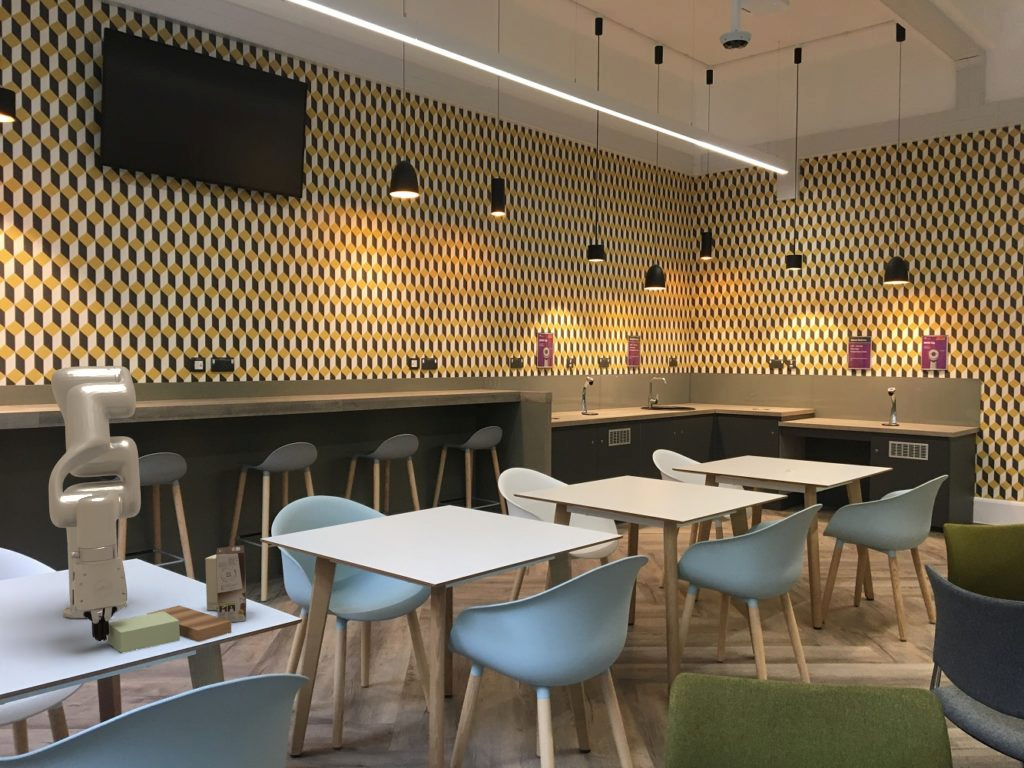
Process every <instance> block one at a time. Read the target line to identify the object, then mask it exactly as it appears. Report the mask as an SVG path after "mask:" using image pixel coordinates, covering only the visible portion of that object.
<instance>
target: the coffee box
mask: <svg viewBox="0 0 1024 768" xmlns="http://www.w3.org/2000/svg"><path fill="white" fill-rule="evenodd" d="M215 555H216V570H217V601H218V610H217V617H219V618H222V619H226V620H229V621H231V623H239V622H240V623H241V622H246V620H247V582H246V581H247V579H246V577H247V576H246V575H247V574H246V553H245V545H235V546H234V545H231V546H225V547H217V548H216V554H215Z"/></svg>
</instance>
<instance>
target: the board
mask: <svg viewBox="0 0 1024 768" xmlns="http://www.w3.org/2000/svg"><path fill="white" fill-rule="evenodd" d="M162 611H164V612H166V613H167V614H169V615H171V616H172V617H174V618H176V619H177V620H179V631H180V637H183V638H185V639H189V640H192V641H194V642H198V643H200V642H203V641H207V640H210V639H213V638H217V637H220V636H225V635H227V633H228V634H231V633H232V622H231V621H229V620H226V619H222V618H219V617H218V616H215V615H212V614H208V613H205V612H203V611H198V610H196V609H193V608H189V607H185V606H183V605H175V606H171V607H168V608H164V609H159V610H156V611H153V612H148V613H146V615H147V614H152V613H157V612H162Z"/></svg>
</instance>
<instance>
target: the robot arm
mask: <svg viewBox="0 0 1024 768" xmlns="http://www.w3.org/2000/svg"><path fill="white" fill-rule="evenodd" d="M132 378H133V377H132V374H131V372H130V370H129V369H128V368H127V367H125V366H121V365H106V366H105V365H103V366H101V365H99V366H97V365H93V366H90V365H89V366H88V365H86V366H83V365H81V366H69V367H62V368H60V369H57V370H55V371H54V372H53V373H52V375H51V378H50V381H51V385H50V386H51V389H52V390H51V391H52V394H53V397H54V399H55V400H54V401H55V402H56V404H57V407H58V408H59V411H60V413H61V416H62V418H63V420H64V427H65V428H64V429H65V449H66V451H65V453H64V454H63V455H62V456H61V458H60V459H59V460H58V461H57V463H55V465H54V467H53V469H52V471H51V473H50V476H49V482H48V507H49V511H48V512H49V517H50V520H51V523H52V524H53V525H54V526H55V527H57V528H62V529H65V530H66V541H67V562H68V563H67V564H68V566H67V567H68V589H69V591H68V592H69V606H67V607H66V608H65V607H64V608H63V610H62V616H63V617H65V618H68V619H87V620H89V621H90V622H91V635H92V638H94V639H95V641H97V642H98V643H99V642H102V641H103V642H104V641H108V636H107V635H109V622H110V621H111V618H112V617H113V616H114V615H115V613H116V612H117V611H120V610H122V609H125V608H126V607H127V606H128V604H127V601H128V588H127V580H126V572H125V567H124V566H125V565H124V563H123V559H122V557H120V556H118V544H117V543H118V541H117V520H121V519H122V520H123V519H128V518H134V517H136V516H137V515H138V514H139V513H140V511H141V506H142V505H141V504H142V500H141V499H142V498H141V497H142V495H141V479H140V463H139V460H140V459H139V452H138V446H137V444H136V442H135V441H134V439H133V438H131V437H129V436H111V433H110V422H109V421H110V419H120V418H121V419H122V418H124V419H125V418H130V417H132V416H133V415H134V414H135V412H136V408H137V395H136V389H135V385H134V381H133V379H132ZM68 474H71V476H74V477H77V478H91V477H92V478H93V477H103V476H104V477H106V476H117V477H118V478H119V479H120V480H119V479H118V480H109V481H108V480H105V481H101V480H100V481H91V482H82V483H77V484H73V485H71V486H69V487H66V489H65V490H63V487H64V486H63V485H64V481H65V478H66V477H67V476H68ZM99 617H100V618H99Z"/></svg>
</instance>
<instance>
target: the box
mask: <svg viewBox="0 0 1024 768" xmlns="http://www.w3.org/2000/svg"><path fill="white" fill-rule="evenodd" d="M204 560H205V589H206V593H205V594H206V610H207V611H218V601H217V570H216V554H214V555H213V554H212V555H211V556H208V557H205V558H204Z"/></svg>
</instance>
